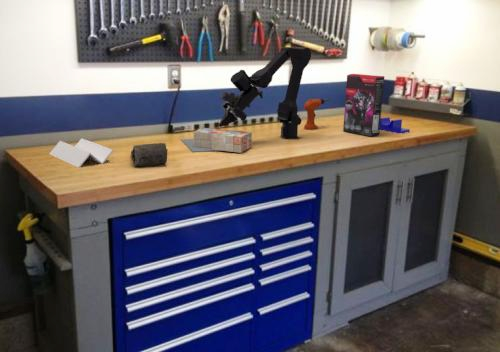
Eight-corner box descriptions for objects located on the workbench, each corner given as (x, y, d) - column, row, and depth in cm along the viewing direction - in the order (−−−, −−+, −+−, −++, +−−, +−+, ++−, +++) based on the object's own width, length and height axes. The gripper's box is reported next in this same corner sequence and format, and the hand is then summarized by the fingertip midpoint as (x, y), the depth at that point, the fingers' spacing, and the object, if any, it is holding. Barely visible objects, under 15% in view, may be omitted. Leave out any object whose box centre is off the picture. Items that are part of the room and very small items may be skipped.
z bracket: (91, 178, 175) (78, 167, 171) (61, 163, 193) (49, 153, 189) (113, 150, 178) (101, 139, 174) (82, 138, 196) (70, 128, 192)
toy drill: (333, 123, 261) (333, 93, 256) (309, 132, 249) (308, 101, 244) (325, 122, 264) (325, 93, 259) (301, 130, 252) (300, 100, 247)
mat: (213, 138, 223) (213, 138, 223) (228, 150, 201) (228, 149, 201) (180, 140, 219) (180, 139, 219) (192, 152, 197) (192, 151, 197)
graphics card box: (341, 131, 247) (345, 73, 240) (350, 130, 251) (355, 73, 244) (371, 137, 234) (376, 76, 227) (380, 135, 239) (385, 76, 232)
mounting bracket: (409, 133, 250) (410, 120, 248) (400, 134, 245) (401, 122, 244) (378, 127, 263) (379, 115, 262) (370, 128, 259) (371, 116, 257)
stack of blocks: (203, 142, 214) (189, 147, 203) (203, 127, 212) (189, 132, 201) (251, 147, 207) (240, 153, 196) (252, 131, 205) (241, 136, 194)
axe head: (177, 141, 174) (132, 146, 170) (179, 163, 176) (135, 169, 171) (166, 137, 199) (126, 141, 195) (168, 156, 200) (129, 161, 196)
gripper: (226, 82, 216) (200, 109, 215) (239, 86, 199) (211, 116, 198) (243, 100, 220) (218, 127, 220) (258, 106, 203) (230, 135, 203)
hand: (219, 126), depth 210 cm, fingers closed
